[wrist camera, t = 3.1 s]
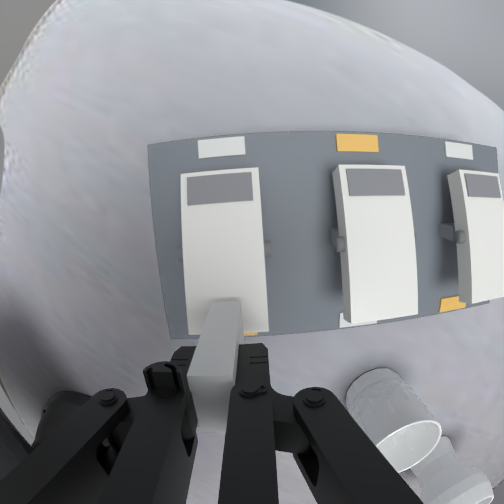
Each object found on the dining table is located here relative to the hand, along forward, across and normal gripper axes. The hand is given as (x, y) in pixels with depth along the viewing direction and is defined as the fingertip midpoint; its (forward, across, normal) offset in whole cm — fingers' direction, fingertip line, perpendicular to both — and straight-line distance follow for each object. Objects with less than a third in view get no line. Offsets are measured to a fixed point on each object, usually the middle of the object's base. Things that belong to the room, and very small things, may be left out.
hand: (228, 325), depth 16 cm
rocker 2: (+2, +9, +4) cm, 10 cm away
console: (+11, +9, +3) cm, 15 cm away
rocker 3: (+2, +18, +4) cm, 18 cm away
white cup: (+12, +14, -16) cm, 24 cm away
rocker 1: (+2, 0, +4) cm, 4 cm away
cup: (+12, +27, -33) cm, 44 cm away
